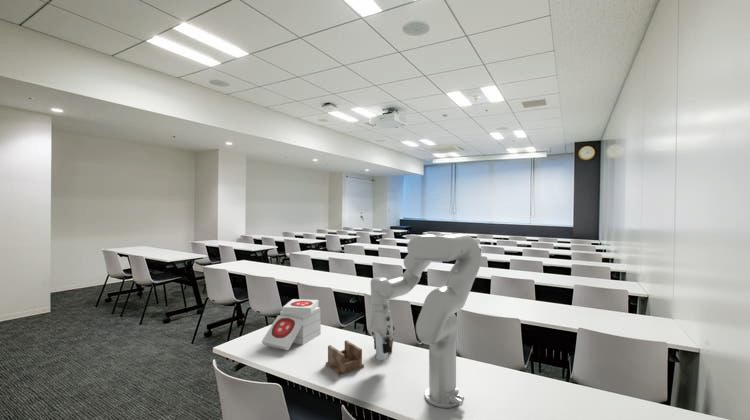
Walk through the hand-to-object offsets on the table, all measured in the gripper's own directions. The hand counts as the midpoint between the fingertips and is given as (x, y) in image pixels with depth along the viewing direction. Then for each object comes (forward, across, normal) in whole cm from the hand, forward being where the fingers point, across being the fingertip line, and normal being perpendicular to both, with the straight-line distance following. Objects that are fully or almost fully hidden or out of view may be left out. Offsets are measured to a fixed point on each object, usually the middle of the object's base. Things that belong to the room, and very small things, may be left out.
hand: (382, 350), depth 138 cm
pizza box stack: (+6, +52, +16) cm, 55 cm away
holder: (+8, +14, +10) cm, 19 cm away
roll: (+3, 0, 0) cm, 3 cm away
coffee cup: (+8, +14, -13) cm, 20 cm away
